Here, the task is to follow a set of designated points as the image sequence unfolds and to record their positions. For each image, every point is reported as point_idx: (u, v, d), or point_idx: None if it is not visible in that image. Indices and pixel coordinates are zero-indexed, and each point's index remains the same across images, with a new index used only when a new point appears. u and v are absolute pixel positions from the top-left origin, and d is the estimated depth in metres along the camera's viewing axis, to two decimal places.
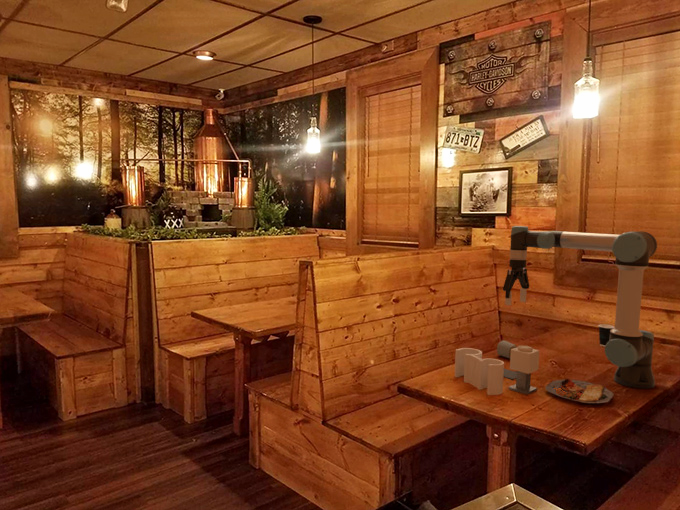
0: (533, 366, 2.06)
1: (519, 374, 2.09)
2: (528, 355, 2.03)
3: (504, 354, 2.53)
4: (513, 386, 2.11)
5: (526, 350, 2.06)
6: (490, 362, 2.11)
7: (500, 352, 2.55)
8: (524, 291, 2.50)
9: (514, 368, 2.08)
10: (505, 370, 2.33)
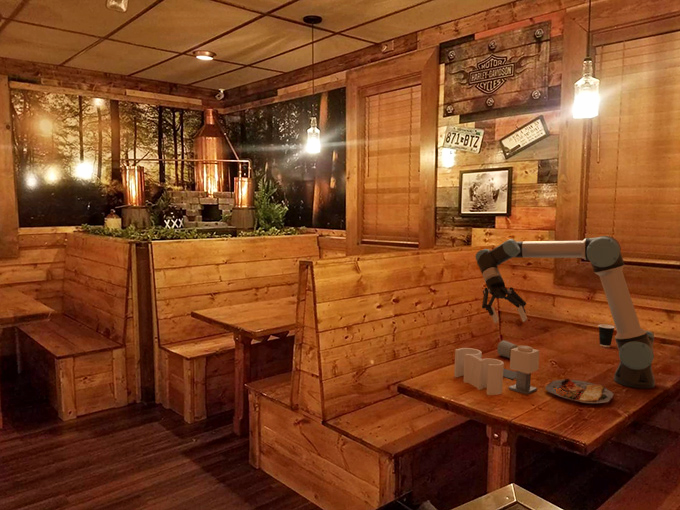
0: (533, 366, 2.06)
1: (519, 374, 2.09)
2: (528, 355, 2.03)
3: (504, 354, 2.53)
4: (513, 386, 2.11)
5: (526, 350, 2.06)
6: (490, 362, 2.11)
7: (500, 352, 2.55)
8: (520, 308, 2.23)
9: (514, 368, 2.08)
10: (505, 370, 2.33)
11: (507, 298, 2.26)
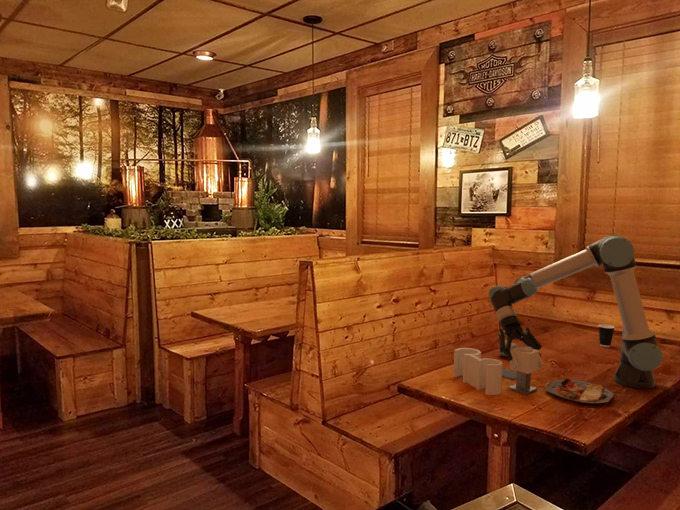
0: (533, 366, 2.06)
1: (519, 374, 2.09)
2: (528, 355, 2.03)
3: None
4: (513, 386, 2.11)
5: (526, 350, 2.06)
6: (489, 362, 2.11)
7: None
8: None
9: None
10: (505, 370, 2.33)
11: (522, 339, 2.15)
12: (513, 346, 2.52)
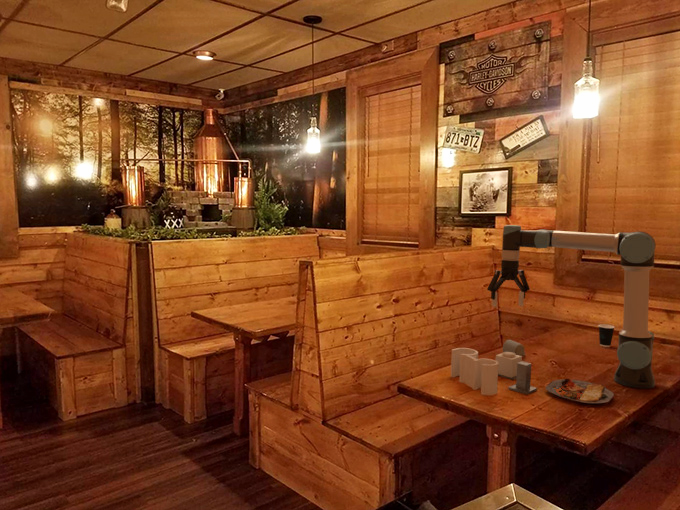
0: (516, 370, 2.26)
1: (519, 374, 2.09)
2: (511, 360, 2.23)
3: None
4: (513, 386, 2.11)
5: (509, 356, 2.26)
6: (485, 362, 2.10)
7: (506, 351, 2.57)
8: (521, 294, 2.36)
9: (499, 372, 2.28)
10: None
11: (514, 280, 2.36)
12: (517, 345, 2.53)
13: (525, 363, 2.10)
